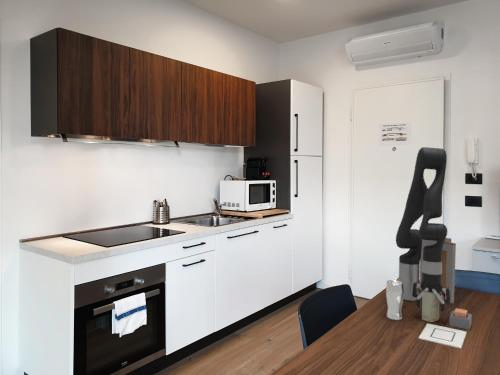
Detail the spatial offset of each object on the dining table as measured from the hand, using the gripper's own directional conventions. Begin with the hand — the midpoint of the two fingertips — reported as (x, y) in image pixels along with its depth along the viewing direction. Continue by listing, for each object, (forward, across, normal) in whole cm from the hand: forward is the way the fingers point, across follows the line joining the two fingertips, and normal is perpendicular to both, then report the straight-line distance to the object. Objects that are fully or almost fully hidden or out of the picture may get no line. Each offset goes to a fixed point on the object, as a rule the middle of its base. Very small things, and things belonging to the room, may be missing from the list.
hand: (430, 309), depth 165 cm
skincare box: (+4, 0, 0) cm, 4 cm away
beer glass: (+4, -13, -6) cm, 15 cm away
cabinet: (+4, -1, +36) cm, 36 cm away
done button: (+1, +11, +1) cm, 11 cm away
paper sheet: (+4, +7, -14) cm, 16 cm away
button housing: (+4, +11, +1) cm, 12 cm away
